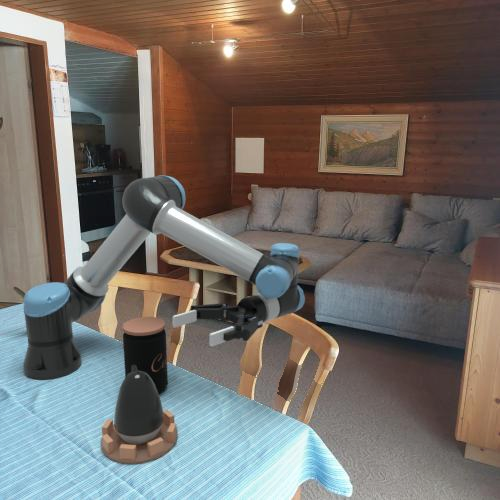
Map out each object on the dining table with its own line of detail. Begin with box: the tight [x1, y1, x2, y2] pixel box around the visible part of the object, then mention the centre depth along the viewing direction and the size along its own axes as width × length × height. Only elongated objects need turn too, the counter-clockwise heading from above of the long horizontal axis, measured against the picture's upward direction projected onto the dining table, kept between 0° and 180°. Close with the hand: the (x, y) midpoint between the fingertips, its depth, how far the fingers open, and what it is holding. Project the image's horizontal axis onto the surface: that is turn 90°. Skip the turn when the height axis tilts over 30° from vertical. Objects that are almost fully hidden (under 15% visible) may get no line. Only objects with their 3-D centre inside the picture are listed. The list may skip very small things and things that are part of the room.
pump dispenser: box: [113, 365, 164, 444], centre depth 96 cm, size 10×10×15 cm
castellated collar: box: [100, 409, 179, 465], centre depth 98 cm, size 16×16×3 cm
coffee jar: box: [122, 316, 169, 395], centre depth 116 cm, size 11×11×18 cm
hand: (191, 330), depth 102 cm, fingers open, 13 cm apart
